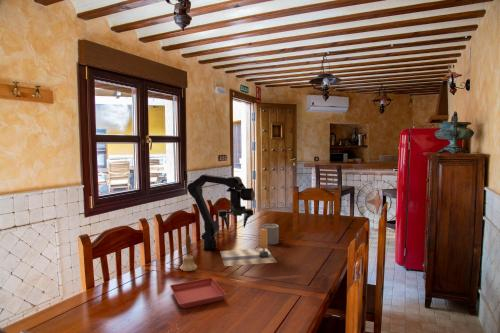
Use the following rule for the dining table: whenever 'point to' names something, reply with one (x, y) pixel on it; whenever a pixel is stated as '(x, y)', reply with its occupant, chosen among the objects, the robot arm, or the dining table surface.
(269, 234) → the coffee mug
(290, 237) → the dining table surface
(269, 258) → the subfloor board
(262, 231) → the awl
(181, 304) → the plant saucer
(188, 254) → the hand bell
